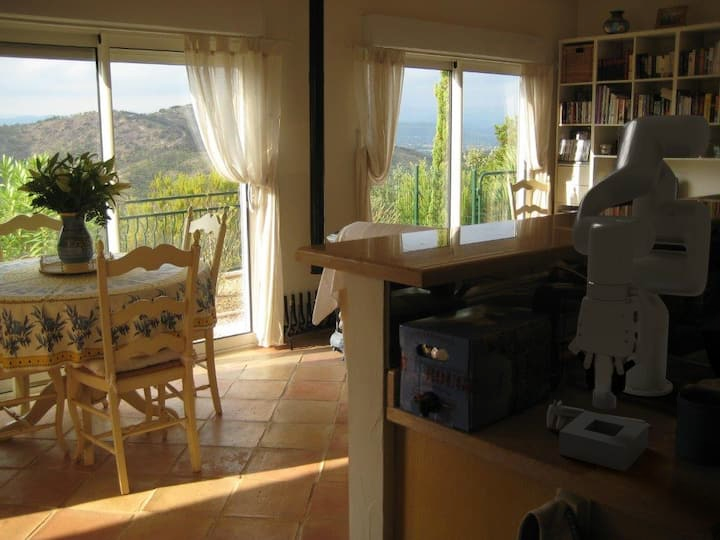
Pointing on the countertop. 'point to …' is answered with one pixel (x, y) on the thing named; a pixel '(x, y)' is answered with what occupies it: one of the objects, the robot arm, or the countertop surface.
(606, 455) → the bore block
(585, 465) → the countertop surface
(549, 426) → the caliper
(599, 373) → the steel pin
